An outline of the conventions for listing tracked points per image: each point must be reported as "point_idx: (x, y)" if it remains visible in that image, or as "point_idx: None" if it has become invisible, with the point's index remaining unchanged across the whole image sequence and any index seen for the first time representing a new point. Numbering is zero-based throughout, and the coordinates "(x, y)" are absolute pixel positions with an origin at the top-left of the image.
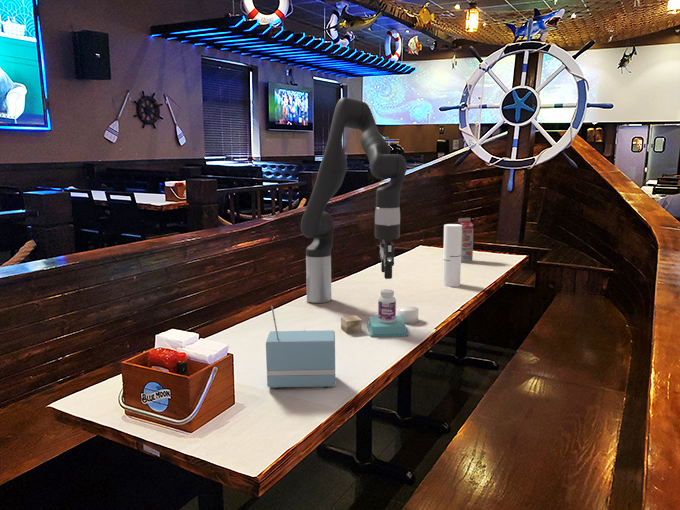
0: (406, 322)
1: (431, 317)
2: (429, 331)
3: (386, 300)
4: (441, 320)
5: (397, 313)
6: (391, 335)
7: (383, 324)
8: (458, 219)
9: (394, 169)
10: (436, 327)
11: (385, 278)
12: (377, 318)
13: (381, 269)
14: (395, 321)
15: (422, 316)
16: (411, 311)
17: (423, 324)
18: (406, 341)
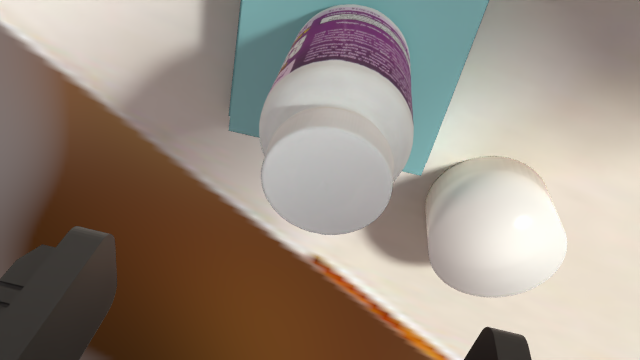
0: (434, 185)
1: (473, 309)
2: (280, 223)
3: (265, 115)
4: (413, 321)
5: (504, 183)
6: (239, 27)
7: (283, 13)
8: None
9: None
10: (326, 268)
11: (80, 229)
12: (430, 19)
13: (503, 355)
14: None
15: None
16: (436, 248)
17: (387, 242)
18: (152, 73)
